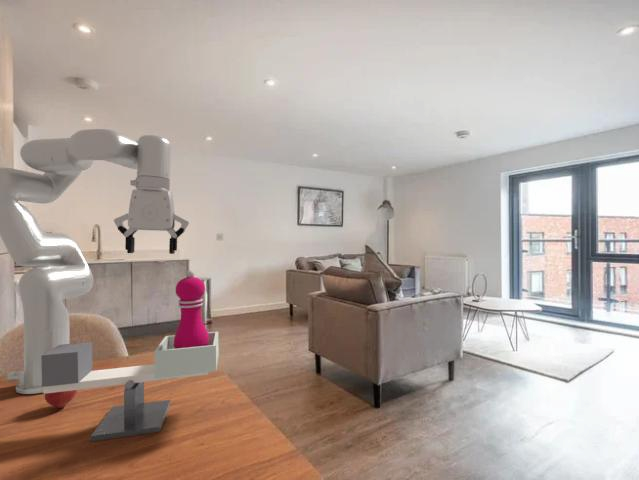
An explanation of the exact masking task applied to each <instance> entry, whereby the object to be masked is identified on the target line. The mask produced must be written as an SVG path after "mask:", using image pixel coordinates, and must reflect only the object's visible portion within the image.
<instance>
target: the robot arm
mask: <svg viewBox="0 0 639 480" xmlns="http://www.w3.org/2000/svg"><path fill="white" fill-rule="evenodd" d="M171 150H172V149H171V143H170V141H169V140H168V139H167V138H165V137H163V136H159V135H154V134H153V135H152V134H144V135H142V136H140V137H139V139H136V138H132V137H130V136H127V135H125V134H124V133H120V132H118V131H116V130H111V129H107V128H91V129H81V130H78V131H76V132H75V133H74V134H72V135H71V136H70V137H62V138H59V137H58V138H42V139H41V138H39V139H33V140H30V141H27V142H26V143H24V144H23V145H22V146H21V148H20V152H19V154H20V158H21V159H22V162H23V163H25V165H27V166H28V167H30V168H31V169H33V170H36V171H39V172H43V174H41V173H35V172H31V171H27V170H26V171H25V170H23V169H17V168H16V169H15V168H10V167H0V239H1V240H2V242H3V244H4V246H5V248H6V250H7V252H8V254H9V256H10V258H11V260H12V261H13V262H14V263H15V265H18V266H21V267H26V268H27V267H31V269H29V270H27V271H25V272H24V274H22V275H21V277H20V278H19V281H18V292H19V296H20V300H21V304H22V311H23V369H22V370H19V371H18V370H17V371H15V370H14V371H8V372H7V375H6V382H14V381H16V382H18V383H17V384H16V386H15V392H16V393H18V394H22V395H37V394H41V393H42V394H44V393H43V387H42V362H41V355H43V354H45V353H46V352H48V351H50V350H52V349H53V348H55V347H57V346H58V345H63V344H71V343H70V342H71V341H70V334H71V332H70V331H71V329H70V328H71V327H70V326H71V325H70V314H69V311H68V309H67V307H66V306H65V304H64V303H63V300H65V299H73V298H78V297H80V296H84V295H86V294H89V292H90V291H91V290H92V288H93V286H94V275H93V273H92V269H91V268H90V266H89V264H88V262H87V260H86V259H85V257H84V254H83V253H82V251H81V249H80V248H81V247H80V246H79V244H78V243H77V242H76V240H74V239H73V238H72V237H71V236H69V235H68V234H65V233H61V232H46V231H44V230H43V229H42V228H41V226H40V224H39V223H38V221H37V218H36V217H35V215H34V214H33V213H32V212H31V210H29V209H28V208H26V207H25V206H24V205H23V204H21V203H20V202H24V203H25V202H27V203H35V204H50V203H53V202H54V201H56V200H58V199H59V198H60V197H61V196H62V195H63V193H65V191H66V190H67V189H68V188H69V187H70V186H71V185H72V184H73V183H74V182H75V181H76V180H77V179H78V177H79V176H80V175H81V173H82V172H83V171H86V170H88V169H90V168H91V167H92V165H93V164H94V161H105V162H109V163H113V164H116V165H120V166H121V167H125V168H128V169H132V170H136V177H135V179H134V180H132V179H131V180H130V182H129V183H130V184H129V185H130V186H132V187H133V186H134V187H135V188H136V189H132V192H131V196H130V200H129V207H128V213H125V214H123V215H121V216H118V217H116V218H114V219H113V222H114V224H115V226H116V227H117V230H118V231H119V232H120V233H121V234H122V236H124V238H125V241H124V242H125V244H124V245H125V246H124V248H125V250H127V251H126V252H127V254H133V253H135V239H136V238H135V237H134V235H135V234H136V233H137V232H138V231H166V232H167V233H168V234H169V235H170V238H169V244H168V245H169V249H168V252H169V254H170V255H174V254H175V251H177V250H178V238H179V237H180V236H181V235H183V233H184V232H186V229H188V228H187V227H188V226H189V224H190V222H189V221H188V220H186V219H184V218H182V217H180V216H179V215H176V214H175V203H174V202H175V201H174V196H173V192H172V191H170V189H171V187H170V186H171V185H170V183H171V181H170V180H171ZM126 221H127V226H128V229H127V228H126V227H125V226H124V224H123V223H124V222H126ZM176 222H178V223H180V224H181V225H180V227H179V228H178V229H177V230H175V227H176V226H175V225H176Z"/></svg>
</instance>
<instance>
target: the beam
mask: <svg viewBox="0 0 639 480" xmlns="http://www.w3.org/2000/svg"><path fill="white" fill-rule="evenodd" d="M207 332H208V331H207ZM208 336H209V343H208V345H207V346H198V347H188V348H178V349H175V348H174V338H175V334H174V335H166V336H164V338H162V340H161V341H160V343H159V345H158V346H157V347H156V348H155V350H154V352H153V353H154V354H153V357H154V363H153V364H152V363H151V364H144V365H135V366H126V367H125V366H124V367H117V368H116V367H115V368H106V369H97V370H94V369H93V367H94V365H93V341H89V342H76V343H70V344H63V345H58V346H57V347H55V348H53V349H52V350H50V351H48V352H46V353H45V354H43V355H41V362H42V387H43V393H42V394H43V395H45V394H46V393H55V392H63V391H72V390H77V391H78V390H80V391H81V390H87V389H95V388H97V389H98V388H105V387H113V386H122V385H123V386H124V389H125V388H126V389H127V390H129V389H131V388H132V387H133V385H134V384H135V383H140V382H144V383H146V382H157V381H164V380H166V381H167V380H171V379H172V380H174V379H181V378H189V377H190V378H191V377H198V376H206V375H209V373H212V372H217V370H218V369H217V368H218V363H219V353H220V352H219V351H220V350H219V349H220V348H219V331H212V332H211V331H209V332H208Z"/></svg>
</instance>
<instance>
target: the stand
mask: <svg viewBox="0 0 639 480" xmlns="http://www.w3.org/2000/svg"><path fill="white" fill-rule="evenodd" d="M123 403H124V404H123V405H115V406H113V405H112V406H111V408H110V410H109V411H108V412H107V414H106V415H105V416H104V418H102V420H101V421H100V422H99V424H98V425H97V427H96V428H95V429H94V430H93V432H92V433H91V435H90V442H95V441H102V440H111V439H118V438H125V437H131V436H139V435H141V436H142V435H146V434H147V435H148V434H154V433H160V432H161V430H162V426H163V424H164V421H165V419H166V417H167V414H168V411H169V409H170V407H171V399H168V400H158V401H157V400H156V401H149V402H145V382H140V383H135V384H134V385H133V387H132V388H131V389H129V390H127V389H126V388H125V387H124V390H123Z"/></svg>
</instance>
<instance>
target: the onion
mask: <svg viewBox="0 0 639 480" xmlns="http://www.w3.org/2000/svg"><path fill="white" fill-rule="evenodd" d="M77 391H78V390H72V391H63V392H55V393H46V394H44V399H45V401H46V403H47V404H48V405H50V406H52V407H56V408H59V409H62V408H64V407H66V406H67V405H68V404H69V403H70V402H71V401H72V400H73V399H74V398H75V397H76V394H77Z"/></svg>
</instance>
